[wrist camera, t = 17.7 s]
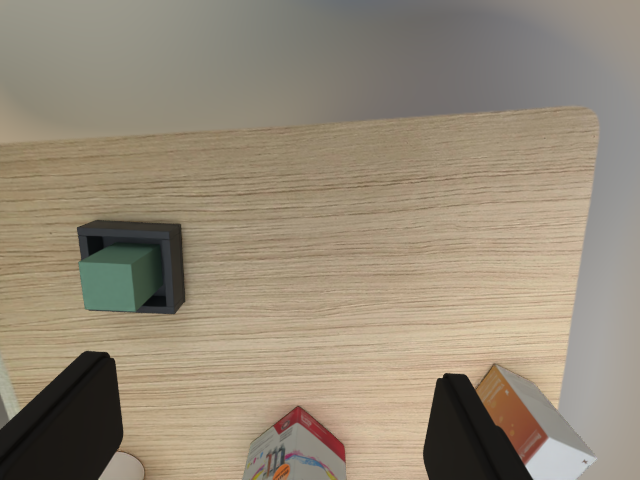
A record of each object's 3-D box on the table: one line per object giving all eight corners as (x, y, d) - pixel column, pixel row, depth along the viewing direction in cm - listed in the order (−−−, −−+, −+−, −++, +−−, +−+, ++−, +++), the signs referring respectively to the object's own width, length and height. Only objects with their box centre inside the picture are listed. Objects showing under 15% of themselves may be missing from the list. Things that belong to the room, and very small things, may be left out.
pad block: (115, 242, 37) (78, 261, 31) (160, 244, 37) (130, 264, 31) (120, 283, 38) (84, 309, 32) (163, 285, 38) (135, 311, 32)
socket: (95, 220, 37) (76, 227, 34) (180, 224, 37) (169, 231, 34) (105, 297, 39) (88, 310, 36) (185, 301, 39) (174, 314, 36)
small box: (494, 361, 42) (550, 435, 31) (533, 381, 42) (601, 458, 32) (455, 413, 43) (496, 497, 33) (493, 430, 44) (545, 518, 34)
